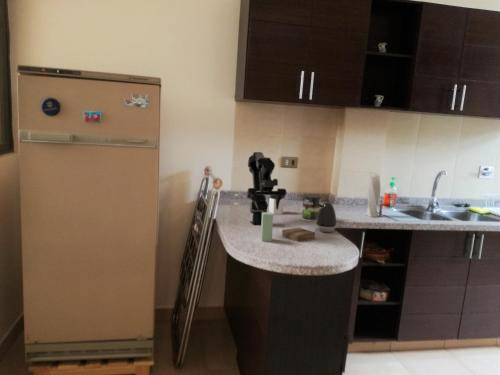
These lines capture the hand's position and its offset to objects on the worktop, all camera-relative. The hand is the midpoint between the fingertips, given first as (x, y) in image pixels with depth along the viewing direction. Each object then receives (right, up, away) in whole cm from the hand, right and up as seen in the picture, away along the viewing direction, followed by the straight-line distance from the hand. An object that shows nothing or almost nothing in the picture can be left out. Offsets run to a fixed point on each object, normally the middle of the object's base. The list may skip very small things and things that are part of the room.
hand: (267, 209), depth 184 cm
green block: (-1, -14, -6) cm, 15 cm away
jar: (+8, -6, +57) cm, 58 cm away
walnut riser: (+15, -14, +1) cm, 20 cm away
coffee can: (+27, -9, +42) cm, 51 cm away
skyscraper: (+69, -8, +59) cm, 91 cm away
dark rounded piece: (+30, -12, +15) cm, 36 cm away
